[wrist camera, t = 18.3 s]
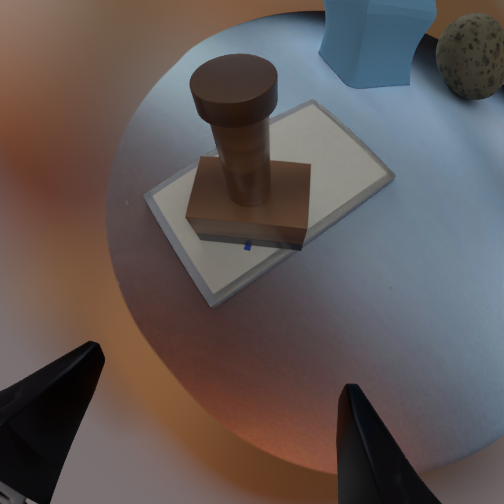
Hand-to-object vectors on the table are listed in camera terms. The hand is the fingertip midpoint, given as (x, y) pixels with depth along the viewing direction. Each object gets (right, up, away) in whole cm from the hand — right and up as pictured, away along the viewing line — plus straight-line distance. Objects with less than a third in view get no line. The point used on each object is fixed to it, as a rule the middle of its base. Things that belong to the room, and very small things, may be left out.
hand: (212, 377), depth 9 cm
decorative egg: (+32, +28, +20) cm, 47 cm away
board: (+3, +10, +16) cm, 19 cm away
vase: (+16, +29, +22) cm, 40 cm away
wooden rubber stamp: (+2, +7, +14) cm, 16 cm away
